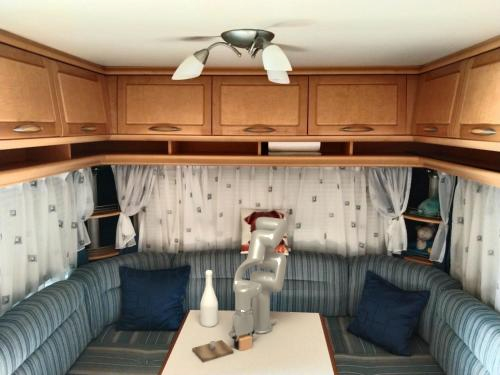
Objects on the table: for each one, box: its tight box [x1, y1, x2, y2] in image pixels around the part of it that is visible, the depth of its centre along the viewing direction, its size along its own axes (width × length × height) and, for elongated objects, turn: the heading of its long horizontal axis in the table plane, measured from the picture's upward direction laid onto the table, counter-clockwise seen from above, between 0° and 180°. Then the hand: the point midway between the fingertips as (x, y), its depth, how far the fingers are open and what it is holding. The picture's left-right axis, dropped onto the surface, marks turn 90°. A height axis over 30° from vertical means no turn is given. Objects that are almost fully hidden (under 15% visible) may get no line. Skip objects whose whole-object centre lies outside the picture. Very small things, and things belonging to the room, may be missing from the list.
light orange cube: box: [236, 334, 253, 352], centre depth 218 cm, size 6×6×6 cm
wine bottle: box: [199, 269, 219, 328], centre depth 241 cm, size 10×10×30 cm
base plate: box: [191, 339, 235, 363], centre depth 213 cm, size 16×12×5 cm
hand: (242, 345), depth 219 cm, fingers closed on light orange cube, 6 cm apart
